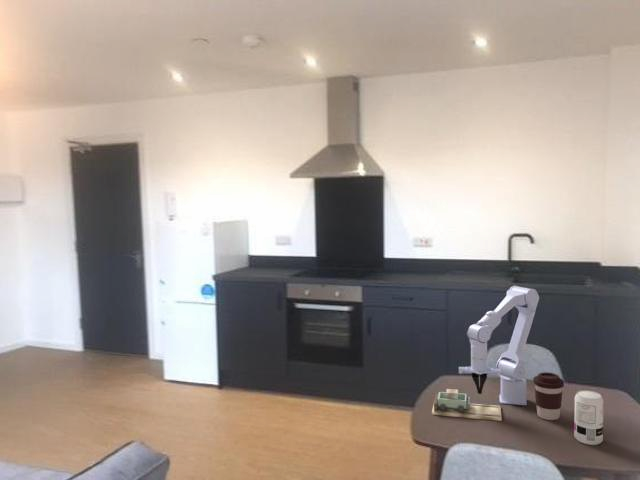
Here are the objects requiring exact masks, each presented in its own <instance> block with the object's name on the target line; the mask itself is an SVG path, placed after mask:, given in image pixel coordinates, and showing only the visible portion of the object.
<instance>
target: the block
mask: <svg viewBox="0 0 640 480" xmlns="http://www.w3.org/2000/svg"><path fill="white" fill-rule="evenodd" d="M458 393H459V389H453V388H446V399H453V400H458Z"/></svg>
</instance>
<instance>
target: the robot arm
mask: <svg viewBox="0 0 640 480" xmlns="http://www.w3.org/2000/svg"><path fill="white" fill-rule="evenodd" d="M539 301H540V296H539V293H538V292H537V290H536V289H535V288H528V287H524V286H523V287H522V286H518V285H513V286H511V287H510V288H509V289H508V290H507V291H506V295H505V297H504V298H503V299H502V301H500V303H499V304H498V305H497V307H495V309H494V310H489V311H487V312H485V314H484V316H482V317H481V319H480V320H478V321H477V322H476V323H474V324H473V323H472V325H470V326H469V327H468V329H467V332H466V335H467V337H468V339H469V344H470V366H458V374H460V375H462V374H471V378H472V380H473V382H474V384H475V387H476V390H477V391H476V392H477V394H478V395H482V393H483V388H484V385H485V382H486V381H487V378H488V375H489V376H490V375H492V376H498V377H499V378H500V394H499V395H498V397H499V403H500V404H505V405H515V406H516V405H517V406H527V399H528V393H527V380H526V378H524V377H525V375H526V367H527V366H526V365H527V362H526V360H525V358H524V357H523V353H524V350H525V347H526V345H527V339H528V337H529V334H530V332H531V331H530V330H531V327H532V324H533V321H534V318H535V314H536V309H537V307H538V303H539ZM514 307H515V309H517V310H518V315H517V316H518V317H517V319H516V322H515V325H514V329H513V332H512V335H511V339H510V342H509V345H508V348H507V350H506V351H504V352H503V353H501V354H500V357H499V359H498V360H497V362H496V364H495V368H494V367H490V366H488V341H490V339H491V336H492V333H493V331H494V330H495V329H496V328H497V327H498V326H499V325H500V324H501V322H502V317H504V315H506V314H507V313H508V312H509V311H510V310H512V309H513V308H514Z"/></svg>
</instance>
